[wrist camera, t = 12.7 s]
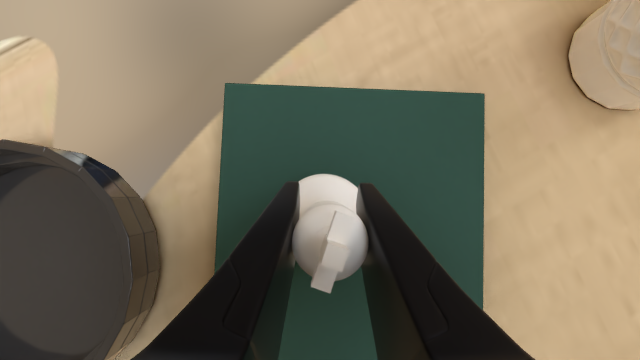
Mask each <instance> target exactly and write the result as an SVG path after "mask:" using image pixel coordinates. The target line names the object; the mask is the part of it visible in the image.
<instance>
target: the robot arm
mask: <svg viewBox="0 0 640 360" xmlns="http://www.w3.org/2000/svg"><path fill="white" fill-rule="evenodd" d="M356 214H357V215H358V216H359V217H360V219H361V220H362V222H363V223H364V225H365V227H366V230H367V233H368V240H369V244H368V252H367V255H366V258H365V260H364V262H363V263H362V265H361V269H362V274H363V280H364V286H365V291H366V297H367V302H368V308H369V313H370V319H371V325H372V330H373V336H374V341H375V347H376V353H377V358H378V360H535V359H534V358H532V357H531V356H530V355H529V354H528V353H526V352H525V351H524V350H523V349H522V348H521V347H520V346H519V345H518V344H516V343H515V342H514V341H513V340H512V339H511V338H510V337H509V336H508V335H507V334H506V333H505V332H504V331H503V330H502V329H501V328H500V327H499V326H498V325H497V324H496V323H495V322H494V321H493V320H492V319H491V318H490V317H489V316H488V315H487V314H486V313H485V312H484V311H483V310H482V309H481V308H480V307H479V306H478V305H477V304H476V303H475V302H474V301H473V300H472V299H471V298H470V297H469V296H468V295H467V294H466V293H465V292H464V291H463V290H462V289H461V288H460V286H459V285H458V284H457V283H456V282H455V281H454V280H453V278H452V277H451V276H450V275H449V274H448V273H447V272H446V270H445V269H444V268H443V267H442V266H441V264H440V263H439V262H436V261H437V260H436V259H435V257H434V256H433V255H432V254H431V253H430V251H429V250H428V249H427V248H426V247H425V246H424V244H423V243H422V242H421V241H420V240H419V238H418V237H417V236H416V235H415V234H414V232H413V231H412V230H411V229H410V228H409V226H408V225H407V224H406V223H405V222H404V220H403V219H402V218H401V217H400V216H399V214H398V213H397V212H396V211H395V210H394V208H393V207H392V206H391V205H390V204H389V203H388V201H387V200H386V199H385V198H384V197H383V195H382V194H381V193H380V192H379V191H378V189H377V188H376V187H375V186H374V185H373V184H372V183H360V184H359V186H358V193H357V200H356ZM299 215H300V186H299V182H297V181H287V182H285V184H284V185H283V186H282V188H281V189H280V190H279V191H278V193H277V194H276V195H275V197H274V198H273V199H272V201H271V202H270V203H269V204H268V206H267V207H266V208H265V210H264V211H263V212H262V214H261V215H260V216H259V217H258V219H257V220H256V221H255V223H254V224H253V225H252V227H251V228H250V229H249V230H248V232H247V233H246V234H245V236H244V237H243V238H242V240H241V241H240V242H239V243H238V245H237V246H236V247H235V249H234V250H233V251H232V253H231V254H230V255H229V258H227V259H226V260H225V261H224V263H223V264H222V265H221V267H220V268H219V269H218V271H217V272H216V273H215V274H214V275H213V277H212V278H211V279H210V280H209V282H208V283H207V284H206V285H205V286H204V287H203V288H202V289H201V290H200V292H199V293H198V294H197V295H196V296H195V297H194V298H193V299H192V300H191V301H190V302H189V303H188V304H187V306H186V307H185V308H184V309H183V310H182V311H181V312H180V313H179V314H178V315H177V316H176V317H175V318H174V319H173V320H172V321H171V322H170V323H169V324H168V325H167V326H166V327H165V329H164V330H163V331H162V332H161V333H160V334H159V335H158V336H157V337H156V338H155V339H154V340H153V341H152V342H151V343H150V344H149V345H148V346H147V347H146V348H145V349H143V350H142V351H141V352H140V353H139V354H137V355H136V356H135V357H134V358H132V359H131V360H278V356H279V350H280V345H281V339H282V333H283V328H284V322H285V317H286V311H287V306H288V300H289V295H290V289H291V284H292V278H293V272H294V267H295V261H296V259H295V257H294V254H293V250H292V235H293V231H294V228H295V226H296V224H297V222H298V220H299Z"/></svg>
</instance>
